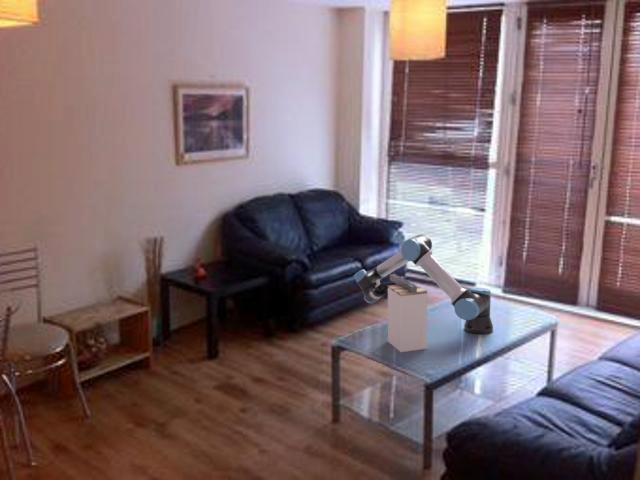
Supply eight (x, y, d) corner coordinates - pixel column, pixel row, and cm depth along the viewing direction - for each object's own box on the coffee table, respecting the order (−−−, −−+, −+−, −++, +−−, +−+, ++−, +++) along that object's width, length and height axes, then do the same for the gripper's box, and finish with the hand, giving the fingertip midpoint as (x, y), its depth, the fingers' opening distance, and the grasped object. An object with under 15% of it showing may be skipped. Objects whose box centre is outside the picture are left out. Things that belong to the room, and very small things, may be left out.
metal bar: (389, 279, 336) (389, 274, 335) (394, 279, 337) (394, 273, 336) (411, 292, 312) (411, 286, 311) (416, 292, 313) (416, 286, 312)
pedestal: (387, 341, 331) (387, 285, 325) (412, 338, 335) (412, 283, 329) (400, 352, 316) (400, 293, 310) (426, 348, 320) (427, 290, 314)
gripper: (400, 294, 359) (414, 284, 339) (358, 299, 352) (370, 289, 332) (397, 282, 361) (411, 271, 342) (355, 286, 354) (367, 275, 335)
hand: (391, 280), depth 337 cm, fingers open, 13 cm apart
